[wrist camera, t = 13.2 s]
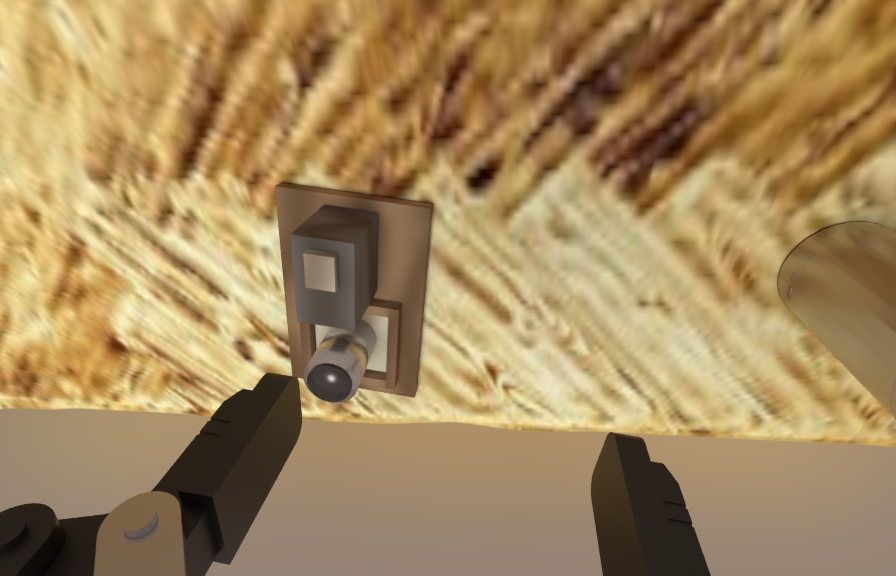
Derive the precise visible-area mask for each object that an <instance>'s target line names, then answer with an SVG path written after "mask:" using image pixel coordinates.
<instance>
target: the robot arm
mask: <svg viewBox="0 0 896 576" xmlns="http://www.w3.org/2000/svg"><path fill="white" fill-rule="evenodd" d="M778 290H779V295H780V297H781V299H782V301H783V302H784V303H785V305H786V306H787V307H788V308H789V309H790V310H791V311H792V312H793V313H794V314H795V315H796V316H797V317H798V318H799V319H800V320H801V321H802V322H803V323H804V325H805V326H806V327H807V328H808V329H809V330H810V331H811V332H812V333H813V334H814V335H815V336H816V337H817V338H818V339H819V340H820V341H821V342H822V343H823V345H824V346H825V347H826V348H827V349H828V350H829V351H830V352H831V353H832V354H833V355H834V356H835V357H836V358H837V359H838V360H839V361H840V362H841V363H842V364H843V365H844V366H845V367H846V368H847V369H848V370H849V371H850V372H851V373H852V374H853V375H854V376H855V378H856V379H857V380H858V381H859V382H860V383H861V384H862V385H863V386H864V387H865V388H866V389H867V390H868V391H869V392H870V393H871V394H872V395H873V396H874V397H875V398H876V399H877V400H878V401H879V402H880V403H881V404H882V405H883V406H884V407H885V408H886V409H887V411H888V412H889V413H890V414H891V415H892V416H893V417H894V418H895V419H896V232H895V231H893V230H891V229H889V228H887V227H884V226H882V225H879V224H877V223H870V222H848V223H844V224H839V225H835V226H832V227H829V228H827V229H824V230H822V231H820V232H818V233H816V234H814V235H812V236H811V237H809V238H808V239H806V240H805V241H804V242H802V243H801V244H800V245H798V246H797V248H796V249H795V250H794V251H793V252H792V253H791V254H790V255H789V256H788V258H787V259H786V261H785V262H784V264H783V266H782V269H781V271H780V274H779V279H778ZM301 426H302V412H301V401H300V389H299V381H298V378H297V377H292V376H287V375H281V374H275V373H266V374H265V375H264V376H263V377H262V378H261V380H260V381H259V382H258V384H257V385H256V386H255V388H254V389H253V390H246V389H242V390H240V391H239V392H237V393H236V394H235V395H233V396H232V397H230V398H229V399H227V400H226V401H224V402H223V403H222V405H221V406H220V407H219V408H218V410H217V411H216V412H215V413H214V415H213V416H212V417H211V420H210V421H208V422H207V423H206V425H205V426H204V427H203V428H202V429H201V431H200V434H199V435H197V436H196V437H195V438H194V440H193V441H192V442H191V443H190V444H189V446H188V447H187V448H186V449H185V451H184V452H183V453H182V454H181V456H180V457H179V458H178V459H177V461H176V462H175V463H174V464H173V466H172V467H171V468H170V469H169V471H168V472H167V473H166V474H165V476H164V477H163V478H162V479H161V480H160V482H159V483H158V484H157V485H156V487H155V488H154V489H153V490H152V491H151V492H146V493H143V494H139V495H137V496H134V497H132V498H130V499H128V500H126V501H125V502H123V503H121V504H120V505H119V506H117V507H116V508H115V509H114V510H113V511H112V512H111V513H109V514H103V515H95V516H86V517H78V518H69V519H61V520H58V519H57V517H56V515H55V513H54V511H53V510H52V509H51V508H50V507H48V506H46V505H43V504H37V503H32V504H24V505H19V506H16V507H13V508H10V509H7V510H5V511H3V512H1V513H0V576H205V574H206V572H207V571H208V569H209V567H210V566H211V564H212V562H213V561H214V562H219V563H224V564H230V563H231V561H232V560H233V558H234V556H235V554H236V552H237V550H238V549H239V547H240V545H241V543H242V541H243V539H244V538H245V536H246V534H247V532H248V530H249V528H250V526H251V525H252V523H253V521H254V519H255V517H256V516H257V514H258V512H259V510H260V508H261V506H262V505H263V503H264V501H265V499H266V497H267V496H268V493H269V492H270V490H271V488H272V486H273V485H274V483H275V481H276V479H277V477H278V475H279V473H280V472H281V470H282V468H283V466H284V464H285V462H286V461H287V459H288V457H289V455H290V453H291V452H292V450H293V447H294V446H295V444H296V442H297V440H298V437H299V434H300V431H301ZM591 499H592V506H593V512H594V519H595V525H596V532H597V539H598V545H599V552H600V559H601V565H602V571H603V576H710V572H709V570H708V567H707V564H706V561H705V558H704V555H703V553H702V549H701V547H700V544H699V541H698V538H697V535H696V532H695V529H694V528H693V527H692V521H691V518H690V515H689V512H688V510H687V509H686V504H685V501H684V498H683V495H682V493H681V490H680V487H679V484H678V482H677V481H676V480H675V478H674V477H673V476H672V474H671V473H670V472H669V471H668V469H667V468H666V467H665V465H664V464H662V463H657V462H651V461H650V458H649V454H648V451H647V448H646V444H645V442H644V440H643V439H642V438H641V437H636V436H630V435H624V434H619V433H613V432H610V433H609V434H608V435H607V437H606V440H605V442H604V445H603V448H602V450H601V453H600V456H599V458H598V461H597V464H596V466H595V469H594V472H593V475H592V482H591Z"/></svg>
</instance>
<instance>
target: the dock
mask: <svg viewBox="0 0 896 576" xmlns="http://www.w3.org/2000/svg"><path fill="white" fill-rule="evenodd" d="M275 193H276V204H277V215H278V226H279V236H280V247H281V258H282V269H283V279H284V290H285V301H286V312H287V322H288V333H289V344H290V355H291V365H292V376H293V377H297V378H303V379H304V377H303V375H304V370H305V368H306V366H307V365H308V363H309V361H310V360H311V358H312V357H313V355H314V353H315V352H316V350H317V348H318V347H319V345H320V343H321V342H322V340H323V338H324V337H325V335H326V333H327V332H328V330H329V328H330V327H334V328H340V329H346V330H352V331H355V330H356V328H357V326H358V324H359V322H360V321H361V319H362V320H364V321H365V322H367V323H368V324H369V325H370V326H371V327H372V328H373V329H374V331H375V333H376V337H377V343H376V346H375V349H374V351H373V354H372V356H371V358H370V361H369V363H368V365H367V368H366V370H365V373H364V375H363V377H362V380H361V382H360V385H359V387H358V388H361V389H367V390H373V391H379V392H385V393H390V394H396V395H402V396H408V397H414V398H415V395H416V391H417V382H418V370H419V358H420V346H421V335H422V323H423V311H424V299H425V287H426V276H427V264H428V252H429V240H430V228H431V217H432V205H433V204H429V203H422V202H415V201H408V200H400V199H393V198H386V197H379V196H372V195H365V194H358V193H351V192H344V191H337V190H330V189H323V188H316V187H309V186H301V185H294V184H287V183H280V184H278V185H276V186H275Z"/></svg>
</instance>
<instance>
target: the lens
mask: <svg viewBox="0 0 896 576" xmlns="http://www.w3.org/2000/svg"><path fill="white" fill-rule="evenodd" d="M376 343H377V337H376V333H375V331H374V329H373V328H372V327H371V326H370V325H369V324H368V323H367V322H365V321H364V320H362V319H361V321H360V322H359V324H358V326H357V328H356V330H355V331H352V330H346V329H340V328H334V327H330V328H329V330H328V332H327V333H326V335H325V337H324V338H323V340H322V342H321V343H320V345H319V347H318V348H317V350H316V352H315V353H314V355H313V357H312V358H311V360H310V361H309V363H308V365H307V366H306V368H305V370H304V375H303V377H304V382H305V384H306V386H307V388H308V389H309V390H310V392H311V393H313V394H314V395H315V396H316V397H318V398H320V399H322V400H324V401H328V402H344V401H347V400H349V399H351V398H352V397H353V396H354V395H355V394H356V392H357V389H358V387H359V385H360V382H361V380H362V377H363V375H364V373H365V370H366V368H367V365H368V363H369V361H370V358H371V356H372V354H373V351H374V349H375V346H376Z"/></svg>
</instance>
